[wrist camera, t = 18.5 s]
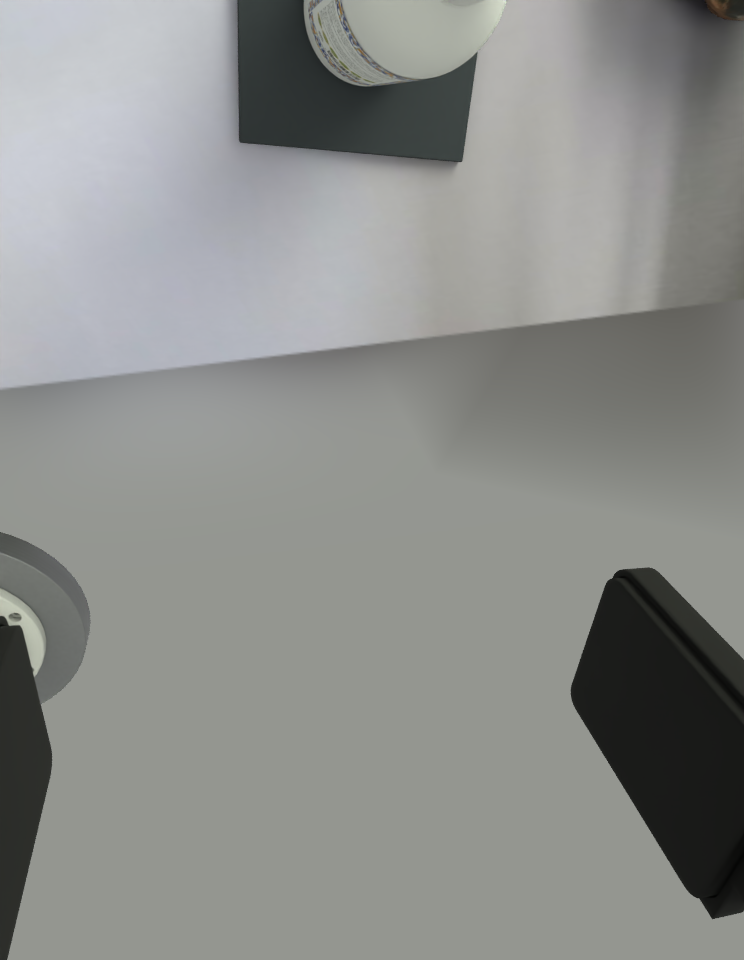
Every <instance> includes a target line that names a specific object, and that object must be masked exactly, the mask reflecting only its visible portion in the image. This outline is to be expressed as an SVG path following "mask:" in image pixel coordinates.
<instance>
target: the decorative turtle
mask: <svg viewBox="0 0 744 960" xmlns="http://www.w3.org/2000/svg"><path fill="white" fill-rule="evenodd" d="M705 3H707V8H708V9H709V10H710V12H711V13H713V14H715V15H716V16H717V17H721V18H723V19H728V20H744V0H705Z"/></svg>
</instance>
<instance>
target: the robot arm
mask: <svg viewBox="0 0 744 960" xmlns="http://www.w3.org/2000/svg"><path fill="white" fill-rule="evenodd" d="M45 652H46V636H45V631H44V628H43V626H42V624H41V622H40V620H39V618H38V617H37V616H36V614H35V613H34V612H33V611H32V610H31V608H30V607H29V606H27V605H26V604H25V603H24V602H23V601H21V600H20V599H19V598H18V597H16V596H14V595H12V594H11V593H9V592H7V591H5V590H3V589H1V588H0V960H7V958H8V954H9V949H10V945H11V941H12V937H13V932H14V928H15V924H16V919H17V915H18V911H19V907H20V903H21V899H22V894H23V890H24V886H25V882H26V877H27V873H28V868H29V865H30V860H31V856H32V852H33V848H34V843H35V839H36V835H37V830H38V826H39V822H40V818H41V813H42V809H43V805H44V801H45V797H46V792H47V788H48V784H49V779H50V775H51V767H52V751H51V746H50V742H49V738H48V733H47V729H46V725H45V721H44V716H43V712H42V709H41V704H40V700H39V696H38V691H37V687H36V683H35V679H34V677H35V676H36V675H37V673H38V671H39V669H40V667H41V665H42V662H43V659H44V656H45ZM571 698H572V702H573V705H574V707H575V709H576V710H577V712H578V714H579V715H580V717H581V719H582V720H583V722H584V724H585V725H586V727H587V728H588V730H589V732H590V733H591V735H592V737H593V738H594V740H595V741H596V743H597V745H598V746H599V748H600V750H601V751H602V753H603V755H604V756H605V758H606V759H607V761H608V763H609V764H610V766H611V768H612V769H613V771H614V772H615V774H616V776H617V777H618V779H619V781H620V782H621V784H622V785H623V787H624V789H625V790H626V792H627V793H628V795H629V797H630V799H631V800H632V802H633V803H634V805H635V807H636V808H637V810H638V811H639V813H640V815H641V817H642V818H643V820H644V821H645V823H646V825H647V826H648V828H649V830H650V831H651V833H652V834H653V836H654V838H655V839H656V841H657V842H658V844H659V846H660V847H661V849H662V851H663V852H664V854H665V856H666V857H667V859H668V861H669V862H670V864H671V865H672V867H673V869H674V870H675V872H676V873H677V875H678V877H679V878H680V880H681V881H682V883H683V885H684V886H685V888H686V889H687V890H688V892H689V893H690V894H691V895H693V896H694V897H696V898H700V900H701V902H702V903H703V905H704V906H705V908H706V910H707V911H708V913H709V914H710V916H711V918H712V919H715V918H719V917H724V916H728V915H733V914H737V913H741V912H743V911H744V660H743V658H742V657H741V656H740V655H739V654H738V653H737V652H736V651H735V650H734V649H733V648H732V647H731V646H730V645H729V644H728V643H727V642H726V641H725V640H724V639H723V638H722V637H721V636H720V635H719V634H718V633H717V632H716V631H715V630H714V629H713V628H712V627H711V626H710V625H709V624H708V623H707V622H706V620H705V619H704V618H703V617H702V616H701V615H700V614H699V613H698V612H697V611H696V610H695V609H694V608H693V607H692V606H691V605H690V604H689V603H688V602H687V601H686V600H685V599H684V598H683V597H682V596H681V595H680V594H679V593H678V592H677V591H676V590H675V589H674V588H673V587H672V586H671V585H670V583H669V582H668V581H667V580H666V579H665V578H664V577H663V576H662V575H661V574H660V573H659V572H658V571H656V570H655V569H653V568H637V569H623V570H619V571H617V572H616V573H615V574H614V576H613V578H612V579H610V580H608V581H607V583H606V585H605V588H604V591H603V594H602V597H601V600H600V603H599V605H598V609H597V612H596V614H595V617H594V621H593V624H592V626H591V629H590V632H589V635H588V638H587V641H586V645H585V647H584V650H583V653H582V656H581V659H580V662H579V665H578V668H577V671H576V674H575V677H574V680H573V683H572V686H571Z"/></svg>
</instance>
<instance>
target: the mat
mask: <svg viewBox="0 0 744 960" xmlns="http://www.w3.org/2000/svg"><path fill="white" fill-rule="evenodd" d="M477 52H478V51H477ZM477 52H476V53H475V54H474V55H473V56H472V57H471V58H470V59H469V60H468V61H466V62H465V63H464V64H462V65H461V66H459V67H458V68H456V69H454V70H453V71H451V72H449V73H447V74H445V75H442V76H440V77H436V78H432V79H426V80H418V81H411V82H403V83H396V84H388V85H380V86H358V85H353V84H350V83H348V82H345V81H343V80H341V79H340V78H338V77H336V76H335V75H334V74H333V73H331V72H330V71H329V70H328V69H327V68H326V67H325V66H324V65H323V63H322V62H321V61H320V59H319V58H318V56H317V55H316V53H315V51H314V49H313V47H312V45H311V43H310V40H309V37H308V34H307V30H306V26H305V19H304V0H238V73H239V141H240V142H241V143H253V144H264V145H275V146H286V147H297V148H309V149H320V150H331V151H342V152H353V153H364V154H376V155H387V156H398V157H409V158H420V159H432V160H443V161H454V162H462V159H463V152H464V145H465V138H466V130H467V123H468V116H469V109H470V102H471V95H472V88H473V81H474V73H475V66H476V59H477Z"/></svg>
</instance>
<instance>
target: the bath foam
mask: <svg viewBox="0 0 744 960" xmlns="http://www.w3.org/2000/svg"><path fill="white" fill-rule="evenodd" d="M506 2H507V0H304V19H305V26H306V30H307V34H308V37H309V40H310V43H311V45H312V47H313V49H314V51H315V53H316V55H317V56H318V58H319V59H320V61H321V62H322V63H323V65H324V66H325V67H326V68H327V69H328V70H329V71H330V72H331V73H333V74H334V75H335V76H336V77H338V78H340V79H341V80H343V81H345V82H348V83H350V84H353V85H358V86H380V85H388V84H396V83H403V82H411V81H418V80H426V79H432V78H436V77H440V76H442V75H445V74H447V73H449V72H451V71H453V70H454V69H456V68H458V67H459V66H461V65H462V64H464V63H465V62H466V61H468V60H469V59H470V58H471V57H472V56H473V55H474V54H475V53H476V52H477V51H478V50H479V49H480V48H481V47H482V46H483V45H484V44H485V42H486V41H487V40H488V38H489V37H490V35H491V34H492V32H493V31H494V29H495V27H496V25H497V24H498V22H499V20H500V17H501V15H502V13H503V10H504V7H505V5H506Z"/></svg>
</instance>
